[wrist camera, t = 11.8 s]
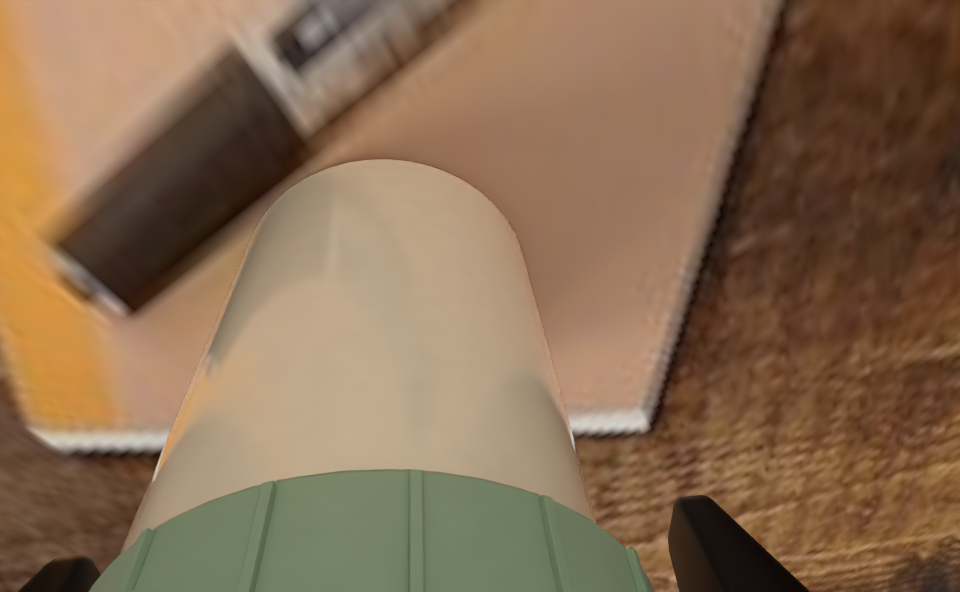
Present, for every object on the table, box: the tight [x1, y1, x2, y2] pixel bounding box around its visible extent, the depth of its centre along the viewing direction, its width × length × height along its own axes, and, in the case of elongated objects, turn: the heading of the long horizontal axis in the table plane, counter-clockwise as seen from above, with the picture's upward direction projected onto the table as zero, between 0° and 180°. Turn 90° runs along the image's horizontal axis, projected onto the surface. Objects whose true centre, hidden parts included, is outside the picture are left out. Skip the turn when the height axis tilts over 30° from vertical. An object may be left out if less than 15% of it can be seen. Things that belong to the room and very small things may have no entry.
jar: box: [119, 159, 597, 555], centre depth 11 cm, size 6×6×10 cm
